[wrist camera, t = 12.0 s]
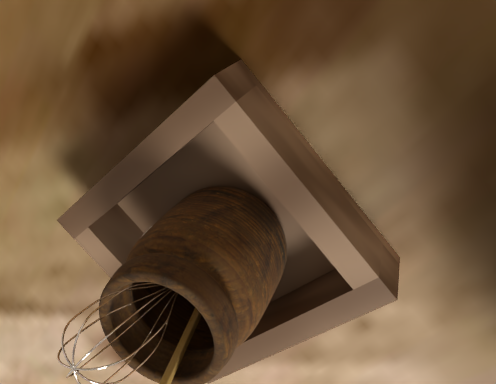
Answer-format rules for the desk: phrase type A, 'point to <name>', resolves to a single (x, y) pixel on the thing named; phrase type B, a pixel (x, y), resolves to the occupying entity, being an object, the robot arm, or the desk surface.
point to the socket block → (262, 187)
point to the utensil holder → (191, 288)
